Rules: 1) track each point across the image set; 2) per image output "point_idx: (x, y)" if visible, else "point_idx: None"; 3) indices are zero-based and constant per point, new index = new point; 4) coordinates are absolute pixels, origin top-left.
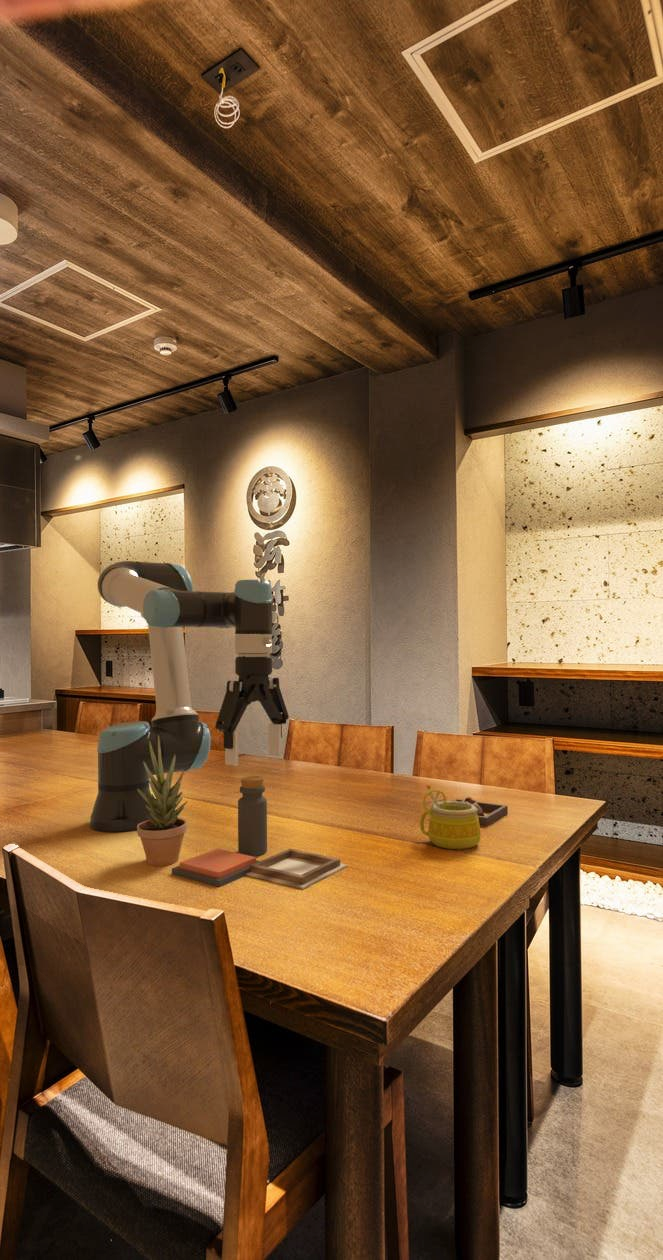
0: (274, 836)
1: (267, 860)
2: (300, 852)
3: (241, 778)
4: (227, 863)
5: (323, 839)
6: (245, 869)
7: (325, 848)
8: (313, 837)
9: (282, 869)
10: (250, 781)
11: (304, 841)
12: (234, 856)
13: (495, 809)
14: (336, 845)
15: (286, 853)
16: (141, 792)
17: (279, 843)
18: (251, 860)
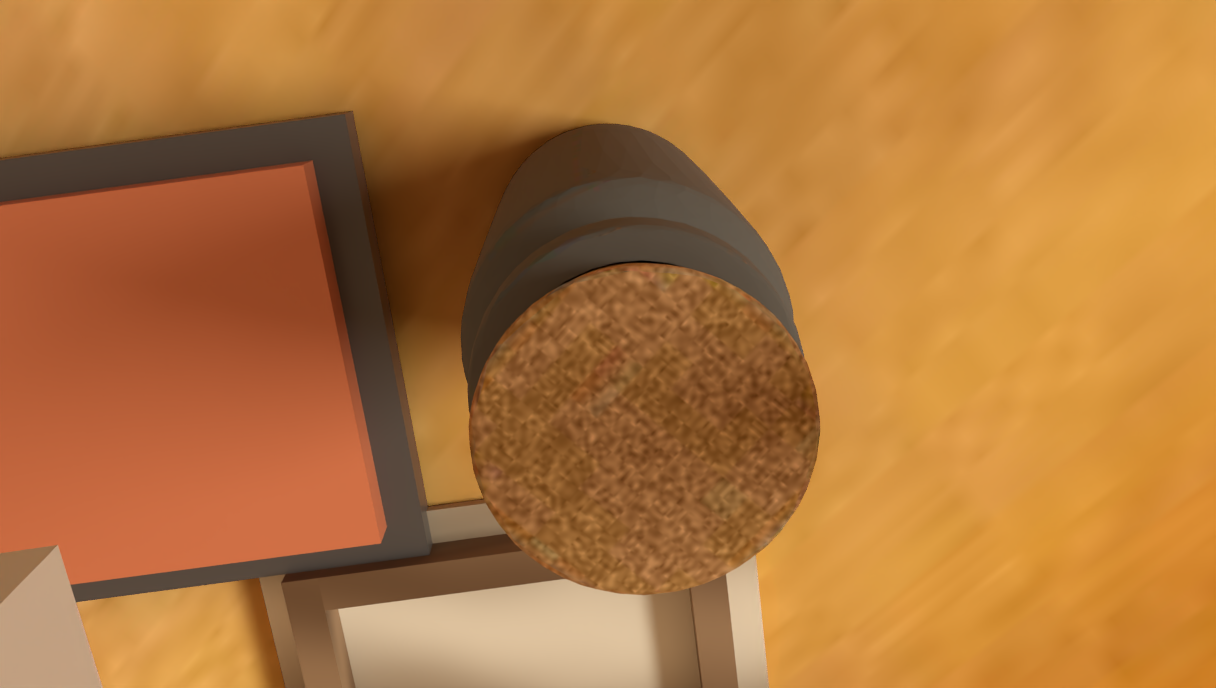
0: (1018, 50)
1: (429, 595)
2: (702, 634)
3: (513, 345)
4: (151, 496)
5: (1167, 408)
6: (247, 572)
7: (996, 558)
8: (1170, 316)
9: (468, 672)
10: (515, 534)
11: (1046, 336)
12: (279, 416)
13: None
14: (1096, 568)
15: None
16: None
17: (894, 227)
18: (329, 547)
